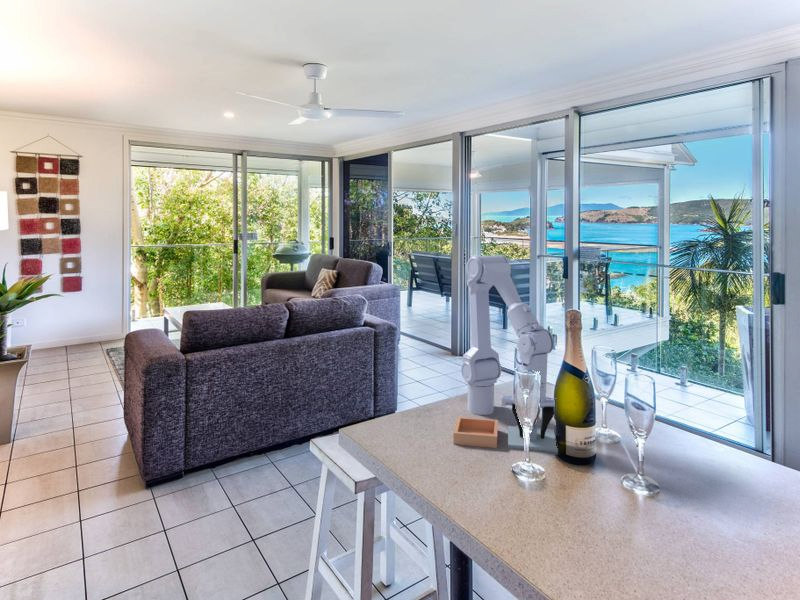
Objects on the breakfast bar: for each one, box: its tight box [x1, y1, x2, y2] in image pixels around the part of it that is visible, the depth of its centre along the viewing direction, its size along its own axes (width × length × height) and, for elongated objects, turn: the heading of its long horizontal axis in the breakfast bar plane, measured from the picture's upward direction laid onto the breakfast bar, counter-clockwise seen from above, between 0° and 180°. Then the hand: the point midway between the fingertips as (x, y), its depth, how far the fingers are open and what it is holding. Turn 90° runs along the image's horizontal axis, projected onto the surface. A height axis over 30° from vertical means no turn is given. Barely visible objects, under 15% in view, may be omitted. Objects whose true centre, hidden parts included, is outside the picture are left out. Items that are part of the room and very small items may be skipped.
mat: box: [507, 447, 559, 455], centre depth 118 cm, size 13×11×1 cm
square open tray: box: [452, 416, 499, 449], centre depth 119 cm, size 10×10×4 cm
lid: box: [507, 422, 559, 453], centre depth 117 cm, size 11×11×4 cm
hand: (531, 435), depth 117 cm, fingers open, 4 cm apart
